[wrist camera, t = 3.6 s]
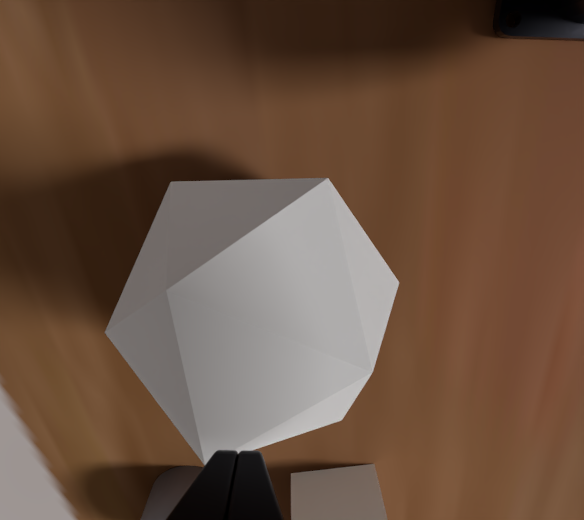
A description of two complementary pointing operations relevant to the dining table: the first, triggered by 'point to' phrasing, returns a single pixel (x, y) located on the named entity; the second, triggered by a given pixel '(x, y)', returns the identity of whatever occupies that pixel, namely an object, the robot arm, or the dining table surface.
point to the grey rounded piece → (169, 491)
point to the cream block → (337, 494)
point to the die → (253, 310)
